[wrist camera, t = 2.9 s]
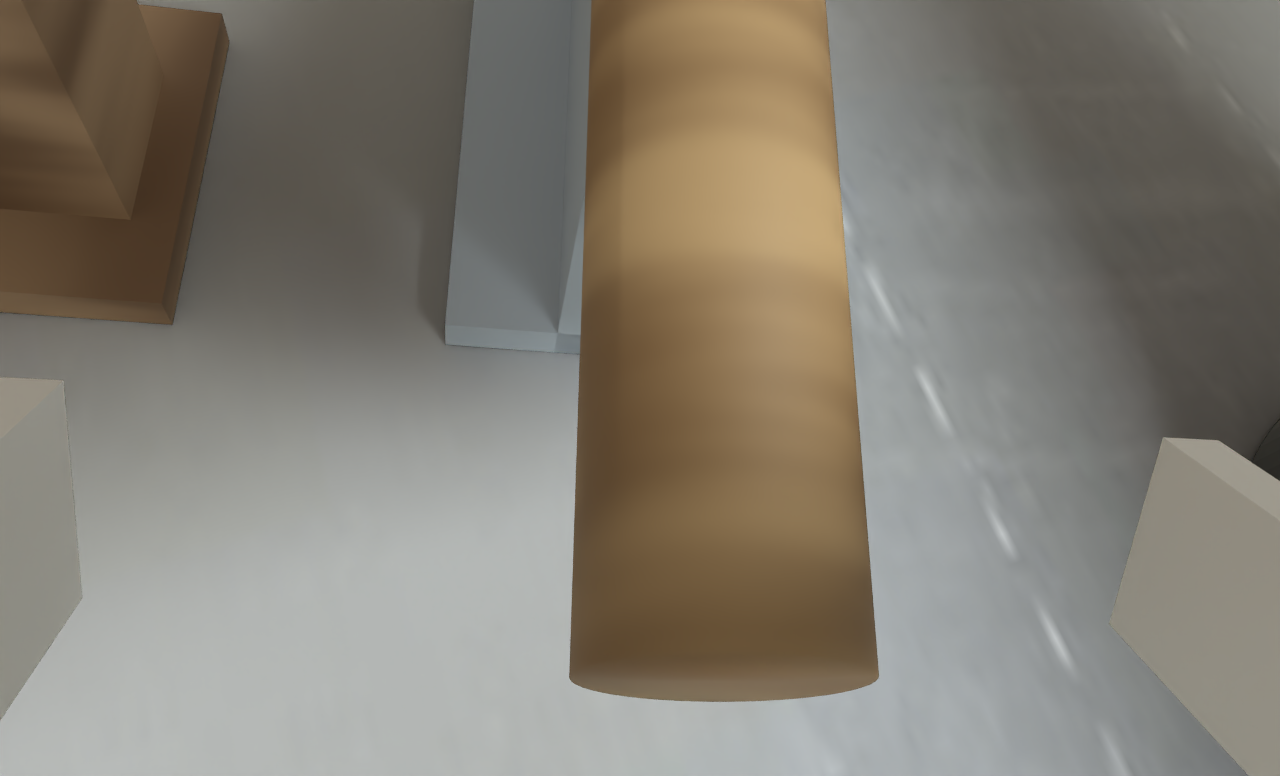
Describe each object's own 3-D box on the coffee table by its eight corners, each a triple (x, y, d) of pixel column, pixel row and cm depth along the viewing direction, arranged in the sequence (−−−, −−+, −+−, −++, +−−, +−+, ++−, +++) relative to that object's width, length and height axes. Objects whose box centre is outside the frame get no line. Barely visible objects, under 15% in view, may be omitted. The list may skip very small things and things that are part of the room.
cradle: (765, 12, 31) (873, -287, 23) (782, 369, 26) (924, 151, 18) (477, -21, 30) (485, -348, 22) (445, 344, 25) (441, 101, 17)
